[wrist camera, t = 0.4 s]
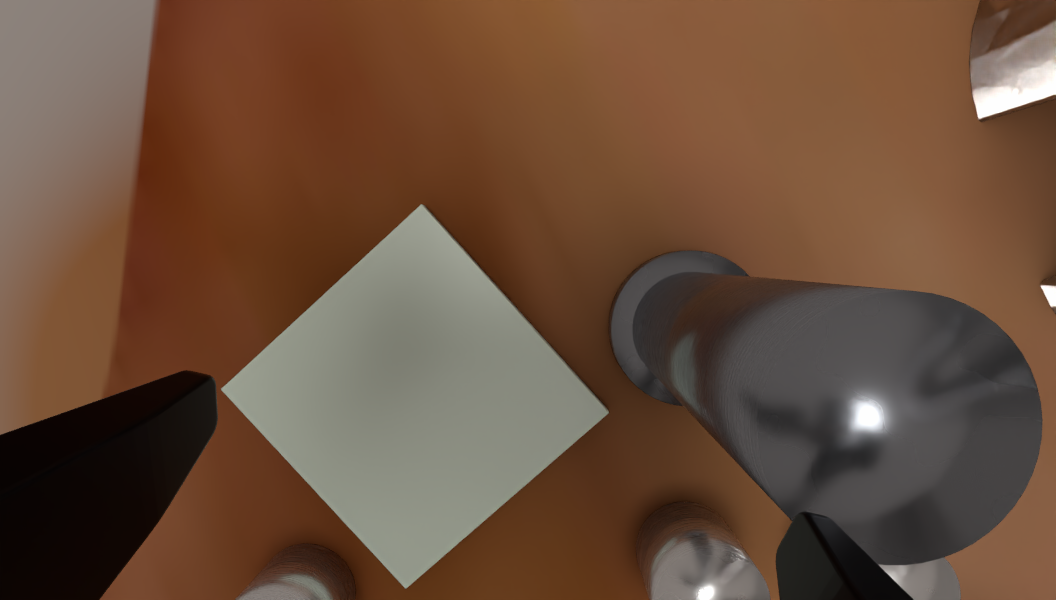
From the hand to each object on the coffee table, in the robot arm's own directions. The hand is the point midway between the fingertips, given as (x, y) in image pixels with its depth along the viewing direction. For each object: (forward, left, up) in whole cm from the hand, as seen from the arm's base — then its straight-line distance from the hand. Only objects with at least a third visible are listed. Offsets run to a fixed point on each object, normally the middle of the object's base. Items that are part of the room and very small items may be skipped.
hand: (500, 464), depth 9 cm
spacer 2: (-1, -11, -15) cm, 19 cm away
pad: (-5, +1, -15) cm, 16 cm away
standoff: (+5, -4, -15) cm, 16 cm away
